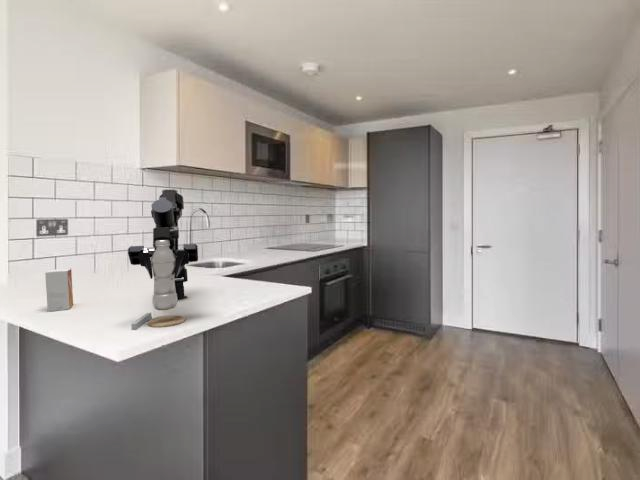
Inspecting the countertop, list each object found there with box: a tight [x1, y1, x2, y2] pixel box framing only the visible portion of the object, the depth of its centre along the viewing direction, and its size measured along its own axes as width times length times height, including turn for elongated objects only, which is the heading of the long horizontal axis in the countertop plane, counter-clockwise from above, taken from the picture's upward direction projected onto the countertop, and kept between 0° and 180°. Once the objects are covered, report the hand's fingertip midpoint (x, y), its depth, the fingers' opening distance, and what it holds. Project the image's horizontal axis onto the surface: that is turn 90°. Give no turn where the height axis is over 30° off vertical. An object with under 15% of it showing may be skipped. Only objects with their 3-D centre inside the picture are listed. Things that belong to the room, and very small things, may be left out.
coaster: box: [146, 314, 186, 328], centre depth 108 cm, size 10×10×1 cm
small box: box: [44, 268, 74, 312], centre depth 128 cm, size 8×6×13 cm
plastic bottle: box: [151, 240, 179, 311], centre depth 107 cm, size 6×7×20 cm
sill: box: [131, 312, 153, 331], centre depth 107 cm, size 12×1×2 cm, turn 6°
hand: (163, 277), depth 106 cm, fingers closed on plastic bottle, 6 cm apart
